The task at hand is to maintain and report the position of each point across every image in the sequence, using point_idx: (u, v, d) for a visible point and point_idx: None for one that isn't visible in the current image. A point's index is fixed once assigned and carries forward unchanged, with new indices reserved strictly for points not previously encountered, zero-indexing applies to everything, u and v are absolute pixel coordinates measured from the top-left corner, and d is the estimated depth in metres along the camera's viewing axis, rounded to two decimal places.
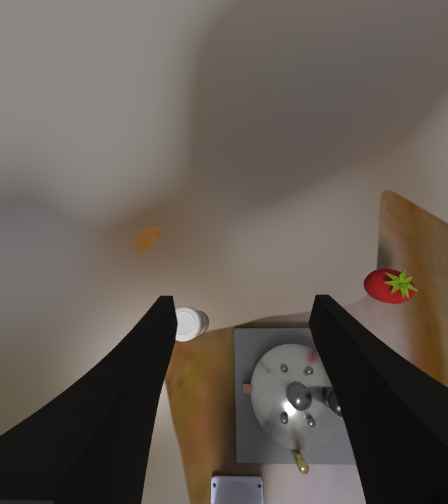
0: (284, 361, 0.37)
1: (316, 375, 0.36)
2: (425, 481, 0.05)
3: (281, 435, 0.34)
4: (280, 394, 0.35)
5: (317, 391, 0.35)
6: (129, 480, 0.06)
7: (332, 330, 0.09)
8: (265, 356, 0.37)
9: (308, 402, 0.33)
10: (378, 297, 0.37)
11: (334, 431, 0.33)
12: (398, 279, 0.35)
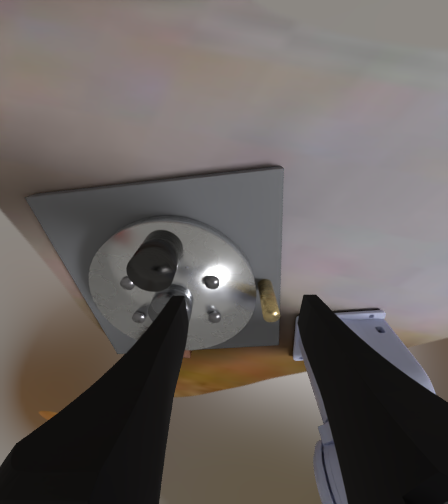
0: (130, 315, 0.21)
1: None
2: (398, 481, 0.05)
3: (237, 318, 0.21)
4: None
5: None
6: (149, 480, 0.06)
7: (317, 330, 0.09)
8: (132, 336, 0.23)
9: None
10: None
11: (222, 244, 0.17)
12: None
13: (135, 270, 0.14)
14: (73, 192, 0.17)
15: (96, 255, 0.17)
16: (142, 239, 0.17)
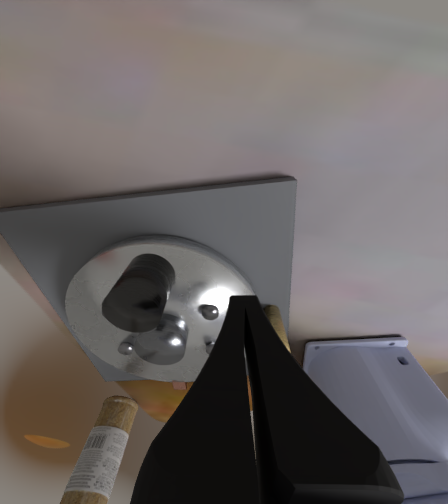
0: (116, 345, 0.18)
1: None
2: (269, 479, 0.05)
3: None
4: None
5: None
6: None
7: (248, 330, 0.09)
8: (120, 367, 0.20)
9: (164, 339, 0.15)
10: None
11: (222, 270, 0.14)
12: None
13: (113, 309, 0.11)
14: (44, 207, 0.14)
15: (72, 281, 0.15)
16: (126, 264, 0.14)
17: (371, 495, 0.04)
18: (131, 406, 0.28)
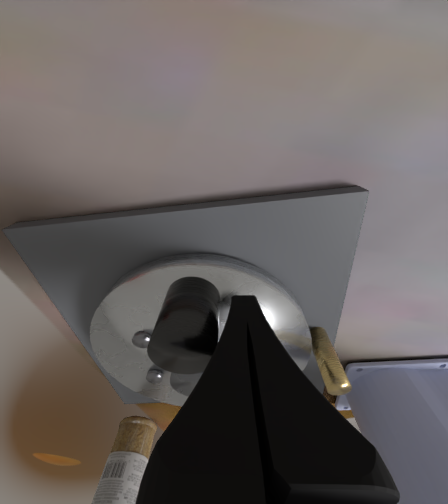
0: (143, 373, 0.16)
1: (150, 324, 0.13)
2: (266, 478, 0.05)
3: None
4: None
5: None
6: None
7: None
8: (145, 394, 0.18)
9: None
10: None
11: (275, 294, 0.12)
12: None
13: (160, 350, 0.09)
14: (68, 222, 0.12)
15: (100, 307, 0.13)
16: (164, 288, 0.12)
17: (367, 495, 0.04)
18: (150, 427, 0.26)
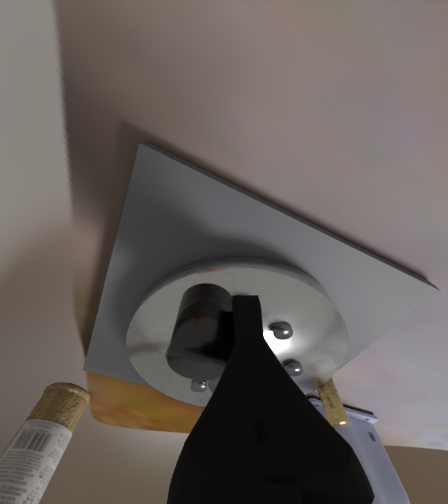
0: (187, 384, 0.17)
1: None
2: None
3: (324, 363, 0.15)
4: None
5: None
6: None
7: (235, 330, 0.09)
8: (197, 404, 0.18)
9: None
10: None
11: (286, 281, 0.12)
12: None
13: (179, 361, 0.09)
14: (218, 182, 0.11)
15: (129, 331, 0.14)
16: (177, 301, 0.12)
17: (340, 494, 0.04)
18: (85, 401, 0.22)
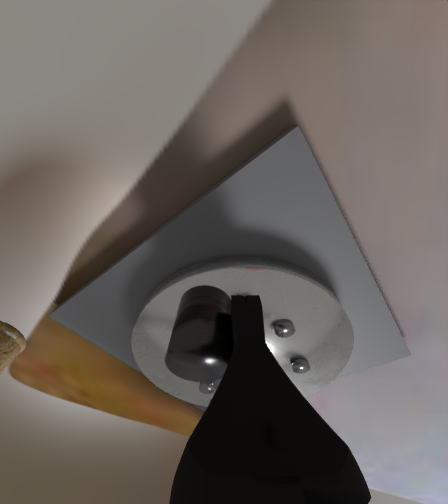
0: (196, 386, 0.17)
1: None
2: None
3: (332, 359, 0.15)
4: None
5: None
6: None
7: (233, 330, 0.09)
8: None
9: None
10: None
11: (282, 278, 0.11)
12: None
13: (178, 364, 0.10)
14: (333, 198, 0.11)
15: (133, 337, 0.14)
16: (176, 304, 0.12)
17: (336, 494, 0.04)
18: (19, 350, 0.18)
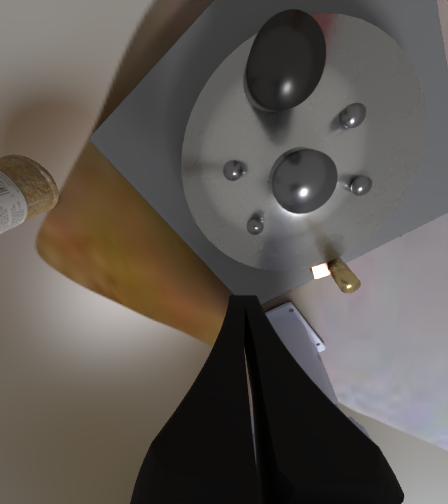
0: (242, 228, 0.16)
1: (235, 146, 0.13)
2: (269, 478, 0.05)
3: (395, 177, 0.14)
4: None
5: (272, 127, 0.13)
6: None
7: (248, 330, 0.09)
8: (250, 263, 0.18)
9: (310, 159, 0.12)
10: None
11: (362, 26, 0.10)
12: None
13: (262, 67, 0.09)
14: None
15: (185, 140, 0.13)
16: (239, 78, 0.11)
17: (371, 495, 0.04)
18: (51, 200, 0.17)
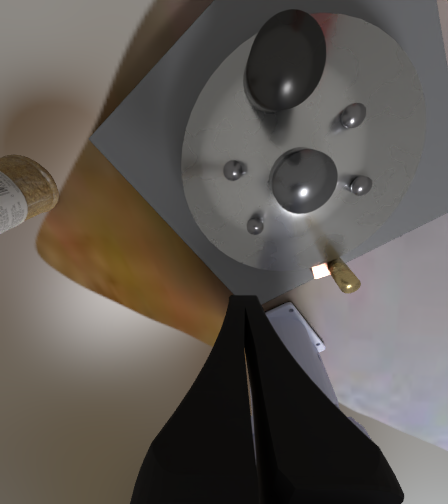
0: (242, 228, 0.16)
1: (235, 146, 0.13)
2: (269, 478, 0.05)
3: (395, 177, 0.14)
4: None
5: (272, 127, 0.13)
6: None
7: (248, 330, 0.09)
8: (250, 263, 0.18)
9: (310, 159, 0.12)
10: None
11: (362, 26, 0.10)
12: None
13: (262, 67, 0.09)
14: None
15: (185, 140, 0.13)
16: (239, 78, 0.11)
17: (371, 495, 0.04)
18: (51, 200, 0.17)
